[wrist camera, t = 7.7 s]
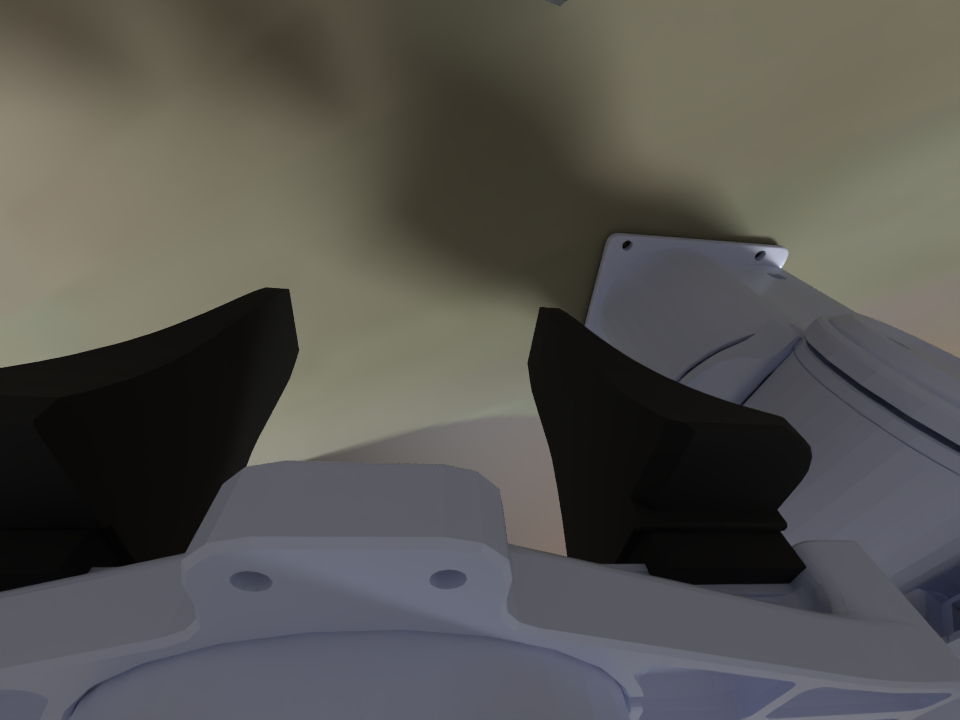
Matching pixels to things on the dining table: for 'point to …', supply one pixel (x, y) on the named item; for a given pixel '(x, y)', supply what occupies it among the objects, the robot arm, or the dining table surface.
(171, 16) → the dining table surface
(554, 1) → the slate block
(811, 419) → the robot arm
